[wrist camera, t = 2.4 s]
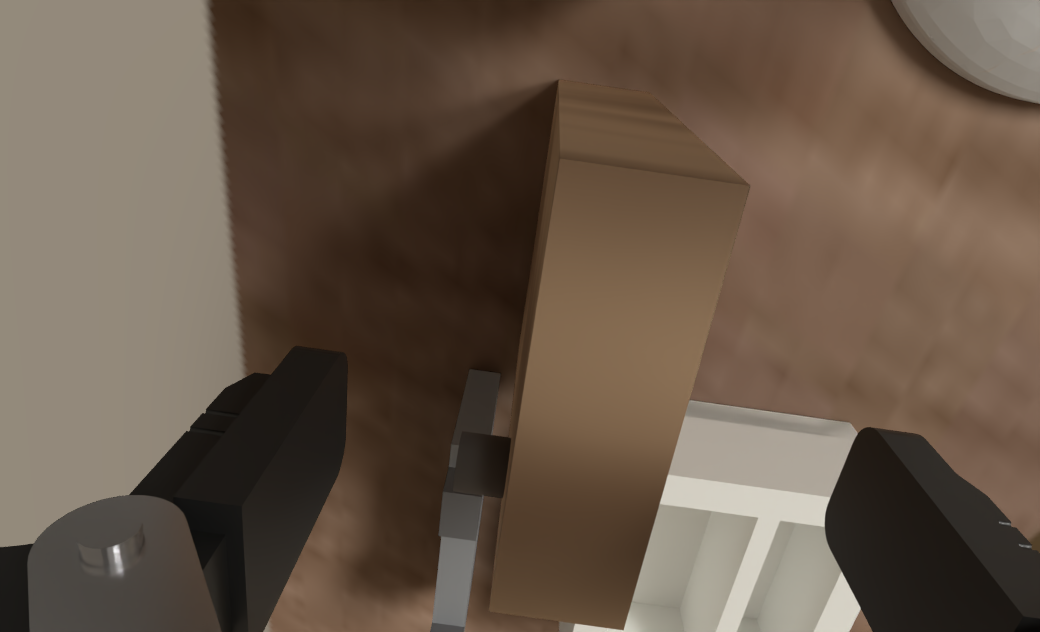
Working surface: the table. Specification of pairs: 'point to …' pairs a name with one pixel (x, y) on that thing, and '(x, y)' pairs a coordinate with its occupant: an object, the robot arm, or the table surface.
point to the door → (603, 352)
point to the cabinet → (700, 526)
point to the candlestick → (982, 41)
